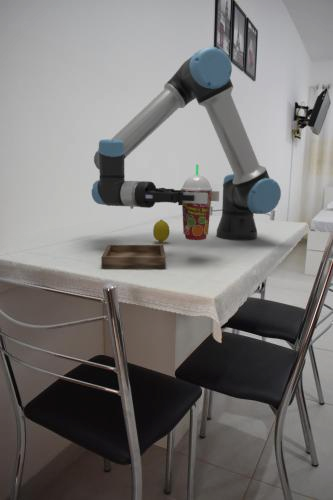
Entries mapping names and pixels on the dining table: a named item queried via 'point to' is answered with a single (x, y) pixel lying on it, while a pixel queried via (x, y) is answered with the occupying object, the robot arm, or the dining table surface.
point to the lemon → (161, 231)
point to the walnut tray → (134, 257)
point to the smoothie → (196, 208)
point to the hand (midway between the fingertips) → (213, 197)
